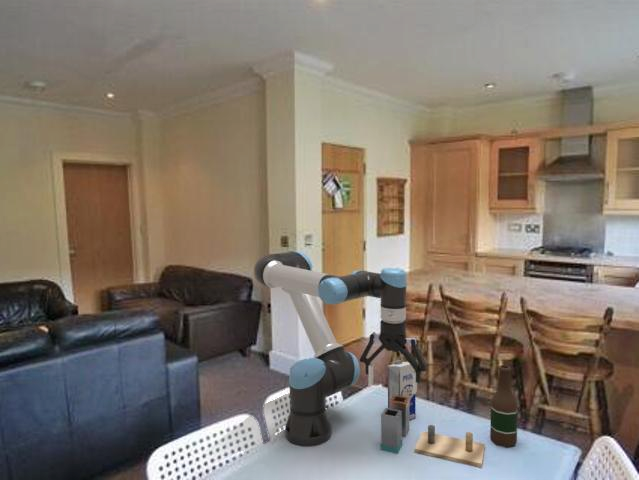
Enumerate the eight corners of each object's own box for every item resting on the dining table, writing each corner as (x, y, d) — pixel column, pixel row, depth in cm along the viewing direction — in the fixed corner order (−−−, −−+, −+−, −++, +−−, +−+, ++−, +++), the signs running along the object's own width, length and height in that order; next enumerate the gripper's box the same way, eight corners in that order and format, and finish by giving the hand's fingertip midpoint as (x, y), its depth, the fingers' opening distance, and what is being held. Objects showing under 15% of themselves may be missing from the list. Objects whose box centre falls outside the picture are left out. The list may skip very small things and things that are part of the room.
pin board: (414, 452, 130) (414, 432, 130) (422, 434, 140) (422, 416, 140) (481, 467, 122) (482, 446, 122) (484, 447, 132) (485, 428, 132)
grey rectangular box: (380, 449, 132) (380, 415, 131) (385, 441, 137) (385, 407, 136) (397, 453, 130) (397, 418, 129) (402, 444, 134) (402, 410, 134)
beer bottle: (520, 449, 131) (521, 372, 129) (492, 447, 132) (493, 370, 130) (513, 436, 138) (515, 362, 136) (488, 433, 140) (489, 361, 138)
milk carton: (400, 423, 147) (399, 366, 146) (387, 415, 153) (387, 360, 152) (415, 418, 151) (415, 362, 149) (403, 410, 157) (403, 356, 155)
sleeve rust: (389, 433, 141) (389, 401, 140) (394, 426, 146) (393, 394, 145) (406, 437, 139) (406, 404, 138) (410, 429, 143) (410, 397, 143)
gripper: (349, 318, 132) (349, 386, 134) (433, 328, 122) (432, 401, 124) (357, 312, 138) (357, 377, 140) (437, 321, 128) (436, 390, 130)
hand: (392, 388), depth 132 cm, fingers open, 13 cm apart
